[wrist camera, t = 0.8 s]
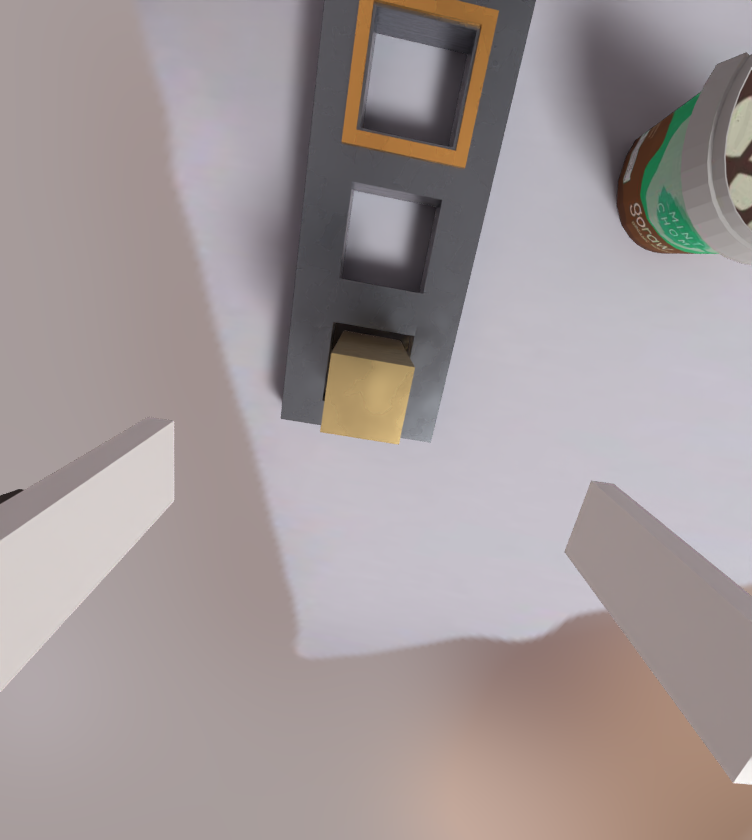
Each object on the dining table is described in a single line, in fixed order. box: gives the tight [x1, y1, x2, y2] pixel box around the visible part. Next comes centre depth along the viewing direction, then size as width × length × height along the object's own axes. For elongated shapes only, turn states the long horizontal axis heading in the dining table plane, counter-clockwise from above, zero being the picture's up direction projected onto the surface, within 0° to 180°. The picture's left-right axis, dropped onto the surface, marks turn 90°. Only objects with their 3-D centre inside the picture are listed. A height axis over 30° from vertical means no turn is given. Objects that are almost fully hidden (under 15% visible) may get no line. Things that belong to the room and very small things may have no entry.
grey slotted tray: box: [281, 0, 536, 443], centre depth 28 cm, size 28×12×3 cm, turn 170°
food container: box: [617, 52, 752, 265], centre depth 24 cm, size 12×6×10 cm, turn 59°
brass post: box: [320, 330, 415, 444], centre depth 27 cm, size 4×4×11 cm
